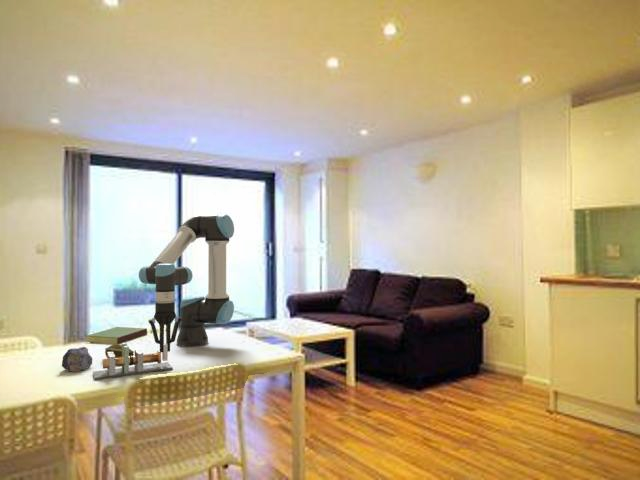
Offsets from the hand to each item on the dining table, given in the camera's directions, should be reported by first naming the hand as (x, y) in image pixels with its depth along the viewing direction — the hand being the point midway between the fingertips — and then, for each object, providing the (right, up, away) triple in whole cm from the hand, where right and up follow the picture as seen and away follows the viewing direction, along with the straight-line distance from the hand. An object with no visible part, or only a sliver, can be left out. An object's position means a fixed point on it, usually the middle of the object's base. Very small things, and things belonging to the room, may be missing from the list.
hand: (164, 359), depth 185 cm
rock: (-34, -4, -2) cm, 35 cm away
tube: (-11, -1, -6) cm, 12 cm away
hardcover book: (-44, -4, +57) cm, 72 cm away
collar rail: (-10, -3, -6) cm, 12 cm away
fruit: (-24, -4, +12) cm, 27 cm away
